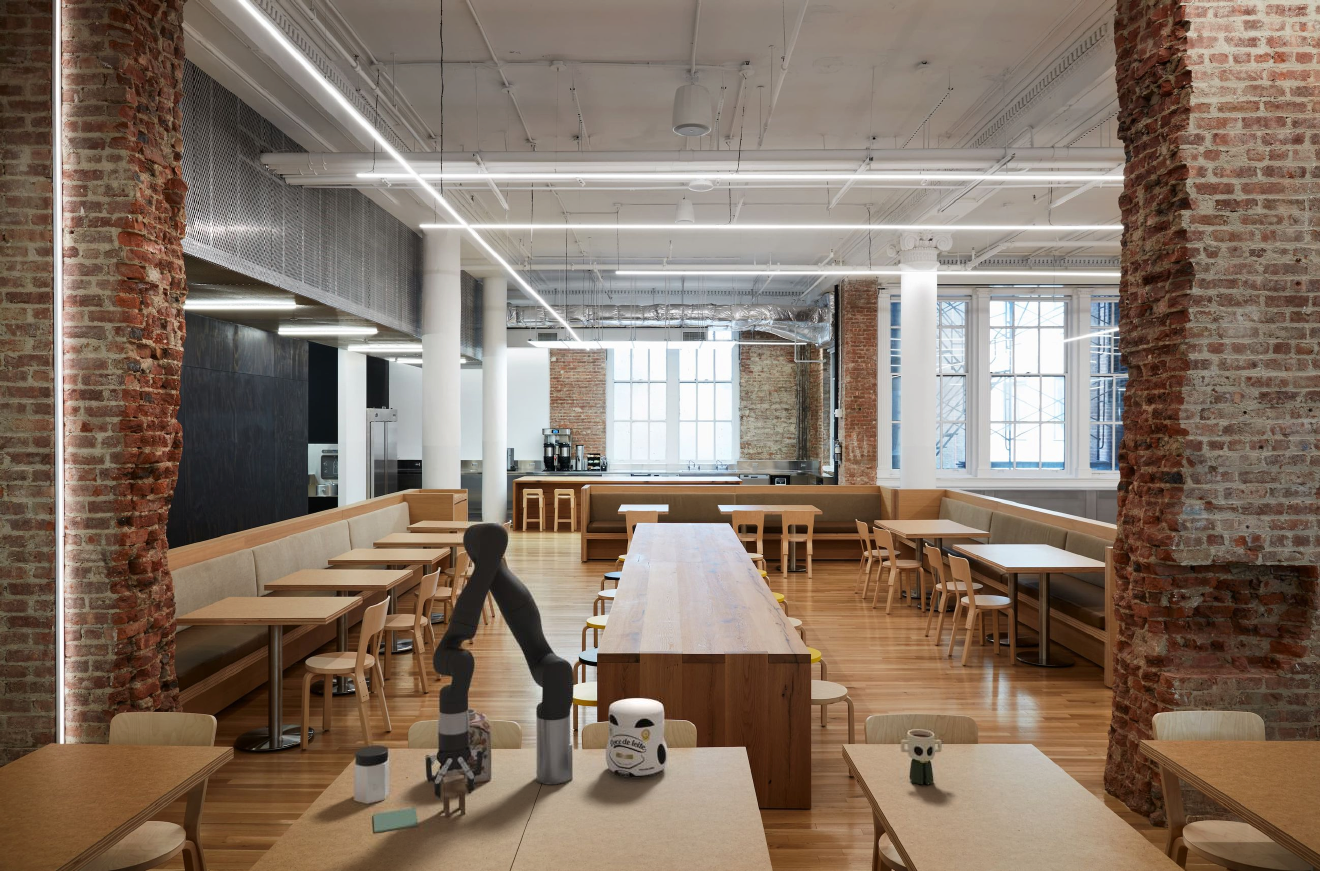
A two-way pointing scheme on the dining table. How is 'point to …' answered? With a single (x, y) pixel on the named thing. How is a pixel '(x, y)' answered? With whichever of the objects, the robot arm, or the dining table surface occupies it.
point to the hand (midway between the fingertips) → (454, 794)
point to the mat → (395, 820)
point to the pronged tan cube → (454, 792)
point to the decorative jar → (477, 746)
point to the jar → (371, 774)
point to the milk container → (636, 738)
